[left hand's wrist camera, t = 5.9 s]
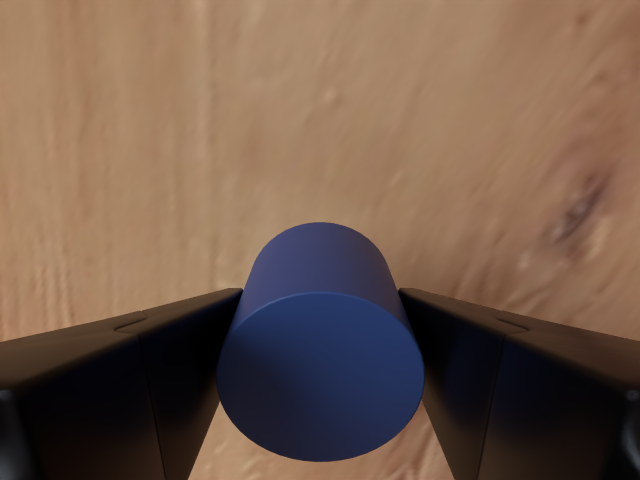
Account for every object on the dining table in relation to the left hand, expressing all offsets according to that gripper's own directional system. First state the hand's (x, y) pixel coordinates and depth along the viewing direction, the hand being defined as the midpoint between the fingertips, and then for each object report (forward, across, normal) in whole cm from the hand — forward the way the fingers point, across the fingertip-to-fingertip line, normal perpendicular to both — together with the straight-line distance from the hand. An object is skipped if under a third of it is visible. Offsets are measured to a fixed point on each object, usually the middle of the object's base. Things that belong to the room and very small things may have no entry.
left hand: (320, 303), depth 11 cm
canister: (+1, 0, 0) cm, 1 cm away
